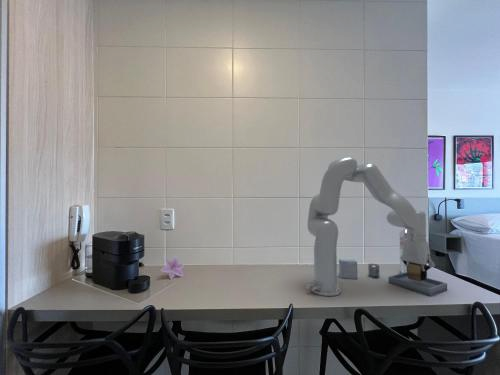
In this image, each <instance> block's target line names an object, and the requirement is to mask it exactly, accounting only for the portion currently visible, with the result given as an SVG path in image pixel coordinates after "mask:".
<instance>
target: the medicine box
mask: <svg viewBox="0 0 500 375" xmlns="http://www.w3.org/2000/svg"><path fill="white" fill-rule="evenodd" d="M338 272H339V273H338V275H339V277H340V279H351V280H352V279H355V280H357V279H358V261H357V260H355V259H349V258H347V259H345V258H342V259H341V258H339V259H338Z"/></svg>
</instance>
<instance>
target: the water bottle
mask: <svg viewBox="0 0 500 375" xmlns="http://www.w3.org/2000/svg"><path fill="white" fill-rule="evenodd" d="M404 234H406V228H403V229H402V230H401V231H400V232H399V271H400V273H404V272H407V267H406V265H405V264H404V262H403V261H402V260H401V259H400V257H401V256H402V255H403V245H404V240H405V239H407V238H406V236H404Z"/></svg>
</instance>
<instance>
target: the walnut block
mask: <svg viewBox="0 0 500 375" xmlns="http://www.w3.org/2000/svg"><path fill="white" fill-rule="evenodd" d="M421 271H422V268H421V265H420V264H416V263H412V262H411V263H408V279H412V280H415V281H419V282H421V281H424V280H421ZM425 280H426V279H425Z"/></svg>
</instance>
